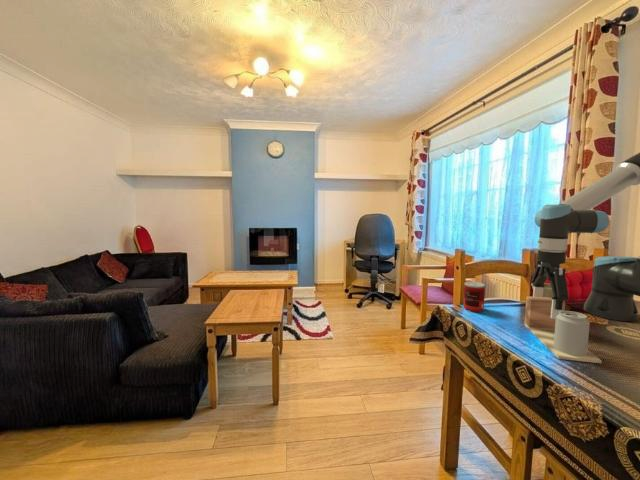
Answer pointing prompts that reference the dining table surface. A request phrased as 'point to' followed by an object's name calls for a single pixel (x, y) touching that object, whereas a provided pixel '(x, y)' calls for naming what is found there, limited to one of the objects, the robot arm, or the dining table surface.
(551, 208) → the robot arm
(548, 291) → the flower pot
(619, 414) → the dining table surface
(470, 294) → the canned food
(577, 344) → the can
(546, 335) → the wooden bracket
